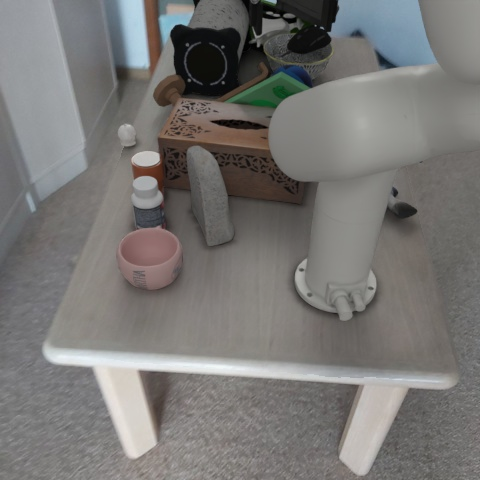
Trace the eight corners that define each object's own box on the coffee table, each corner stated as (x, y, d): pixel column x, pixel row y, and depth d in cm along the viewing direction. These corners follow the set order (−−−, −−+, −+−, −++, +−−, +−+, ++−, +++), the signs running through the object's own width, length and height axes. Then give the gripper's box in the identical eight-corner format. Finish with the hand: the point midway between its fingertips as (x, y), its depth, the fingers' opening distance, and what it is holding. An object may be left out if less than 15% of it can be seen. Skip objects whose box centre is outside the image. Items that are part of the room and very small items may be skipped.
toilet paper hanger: (274, 63, 120) (268, 86, 127) (249, 32, 121) (244, 57, 128) (178, 117, 113) (177, 138, 120) (152, 84, 114) (153, 106, 121)
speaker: (252, 49, 144) (254, -16, 133) (239, 102, 125) (240, 32, 114) (195, 45, 145) (192, -20, 134) (172, 97, 126) (167, 27, 115)
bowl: (321, 100, 126) (325, 67, 120) (253, 89, 129) (254, 56, 123) (335, 70, 136) (339, 38, 131) (272, 61, 139) (274, 29, 134)
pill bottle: (170, 232, 95) (165, 188, 88) (140, 239, 93) (133, 195, 87) (161, 214, 98) (156, 170, 91) (132, 221, 97) (124, 177, 90)
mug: (177, 301, 84) (174, 272, 80) (113, 294, 85) (106, 265, 80) (192, 249, 92) (190, 220, 88) (133, 243, 93) (128, 214, 88)
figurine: (296, -3, 124) (305, 10, 135) (232, 14, 129) (246, 26, 140) (300, 34, 126) (309, 45, 136) (237, 50, 130) (251, 59, 141)
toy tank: (302, 25, 131) (326, 13, 136) (223, -2, 142) (248, -12, 147) (298, 65, 138) (321, 53, 143) (223, 37, 149) (247, 26, 154)
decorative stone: (184, 211, 99) (178, 133, 88) (216, 204, 100) (214, 127, 89) (203, 249, 92) (200, 171, 81) (237, 241, 94) (238, 163, 82)
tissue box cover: (309, 160, 110) (315, 112, 102) (301, 203, 100) (307, 154, 93) (182, 145, 113) (179, 97, 105) (162, 186, 103) (157, 137, 96)
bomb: (276, 125, 117) (264, 120, 131) (324, 104, 116) (307, 101, 130) (259, 78, 113) (248, 78, 127) (308, 56, 112) (292, 58, 126)
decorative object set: (218, 141, 114) (218, 120, 111) (118, 147, 112) (115, 126, 108) (215, 131, 117) (215, 110, 114) (118, 136, 115) (115, 115, 112)
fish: (431, 196, 97) (395, 215, 92) (423, 215, 100) (388, 234, 95) (334, 137, 108) (297, 151, 103) (329, 156, 111) (294, 170, 106)
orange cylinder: (167, 203, 100) (163, 166, 95) (136, 205, 100) (131, 168, 94) (165, 185, 104) (161, 149, 98) (135, 188, 103) (130, 151, 97)
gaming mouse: (271, 52, 125) (272, 33, 122) (316, 34, 132) (318, 16, 129) (291, 62, 122) (293, 43, 119) (336, 43, 129) (338, 24, 126)
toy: (250, 135, 117) (210, 117, 111) (252, 121, 117) (213, 102, 112) (322, 106, 99) (279, 82, 93) (325, 89, 99) (282, 64, 94)
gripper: (234, -118, 61) (233, 44, 74) (386, -121, 63) (360, 38, 76) (225, -133, 66) (225, 22, 79) (366, -135, 68) (344, 16, 80)
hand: (291, 30), depth 77 cm, fingers open, 9 cm apart
